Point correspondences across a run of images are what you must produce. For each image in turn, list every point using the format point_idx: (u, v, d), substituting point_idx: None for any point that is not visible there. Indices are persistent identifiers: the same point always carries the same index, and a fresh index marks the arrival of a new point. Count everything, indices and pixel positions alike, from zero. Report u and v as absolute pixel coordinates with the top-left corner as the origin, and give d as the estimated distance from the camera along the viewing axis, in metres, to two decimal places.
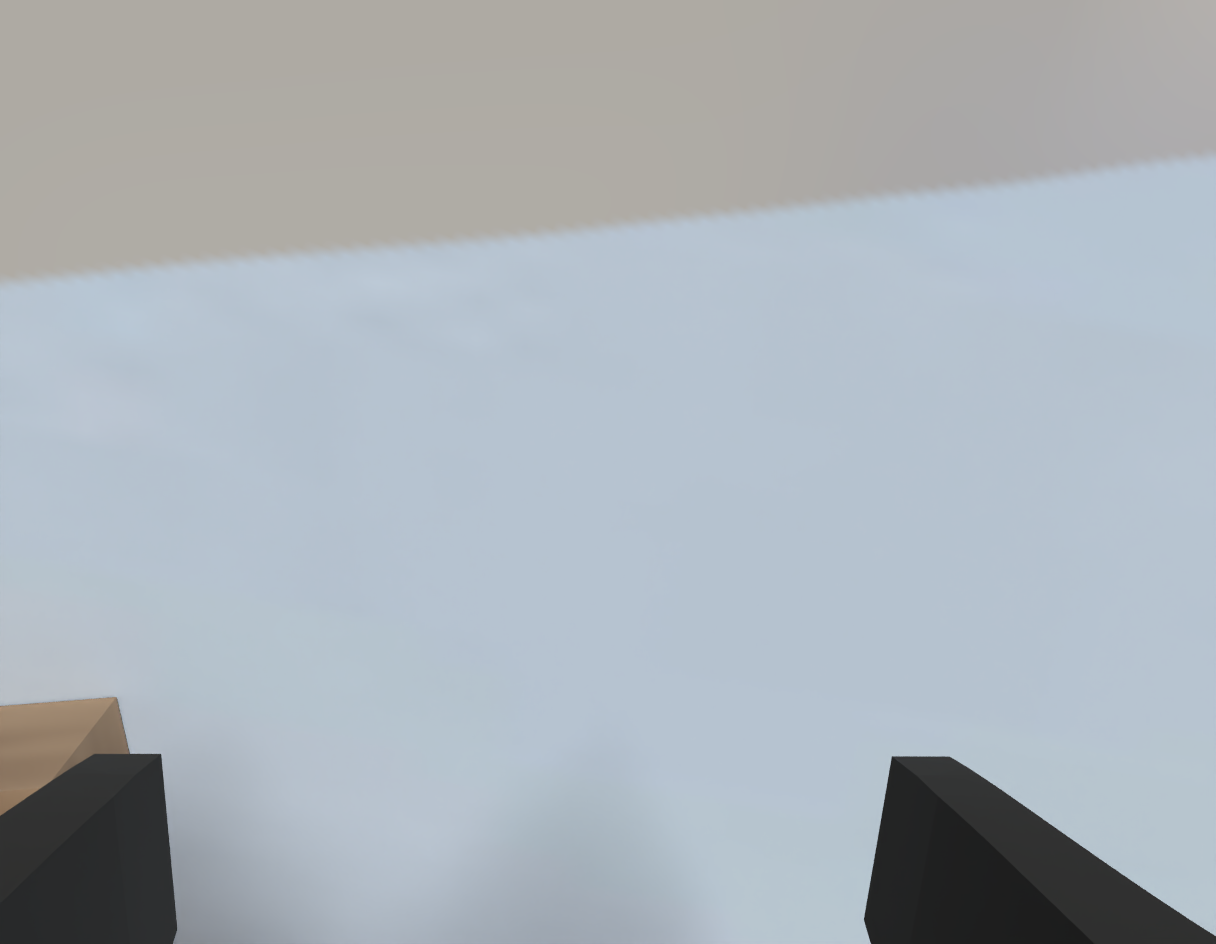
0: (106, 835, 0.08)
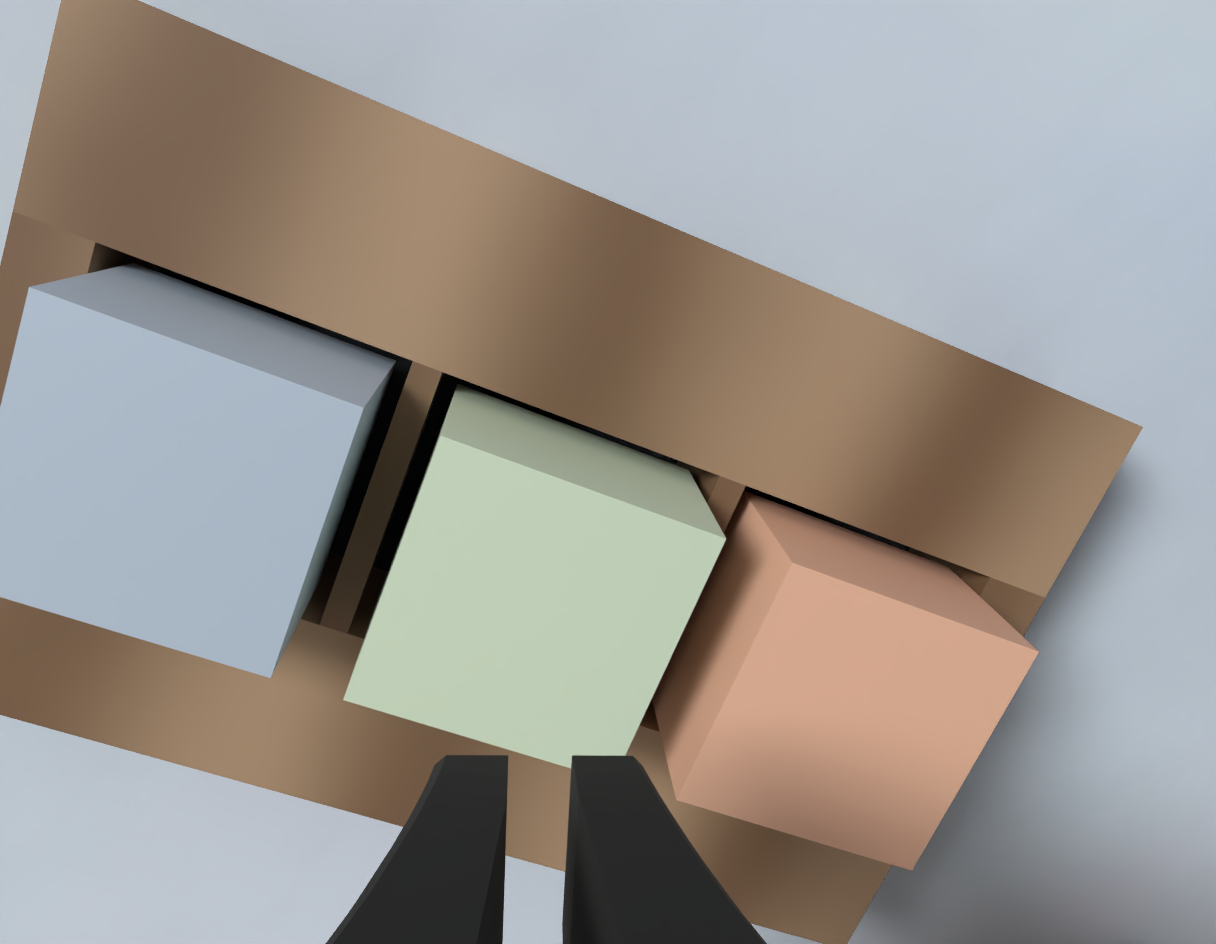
0: (505, 833, 0.08)
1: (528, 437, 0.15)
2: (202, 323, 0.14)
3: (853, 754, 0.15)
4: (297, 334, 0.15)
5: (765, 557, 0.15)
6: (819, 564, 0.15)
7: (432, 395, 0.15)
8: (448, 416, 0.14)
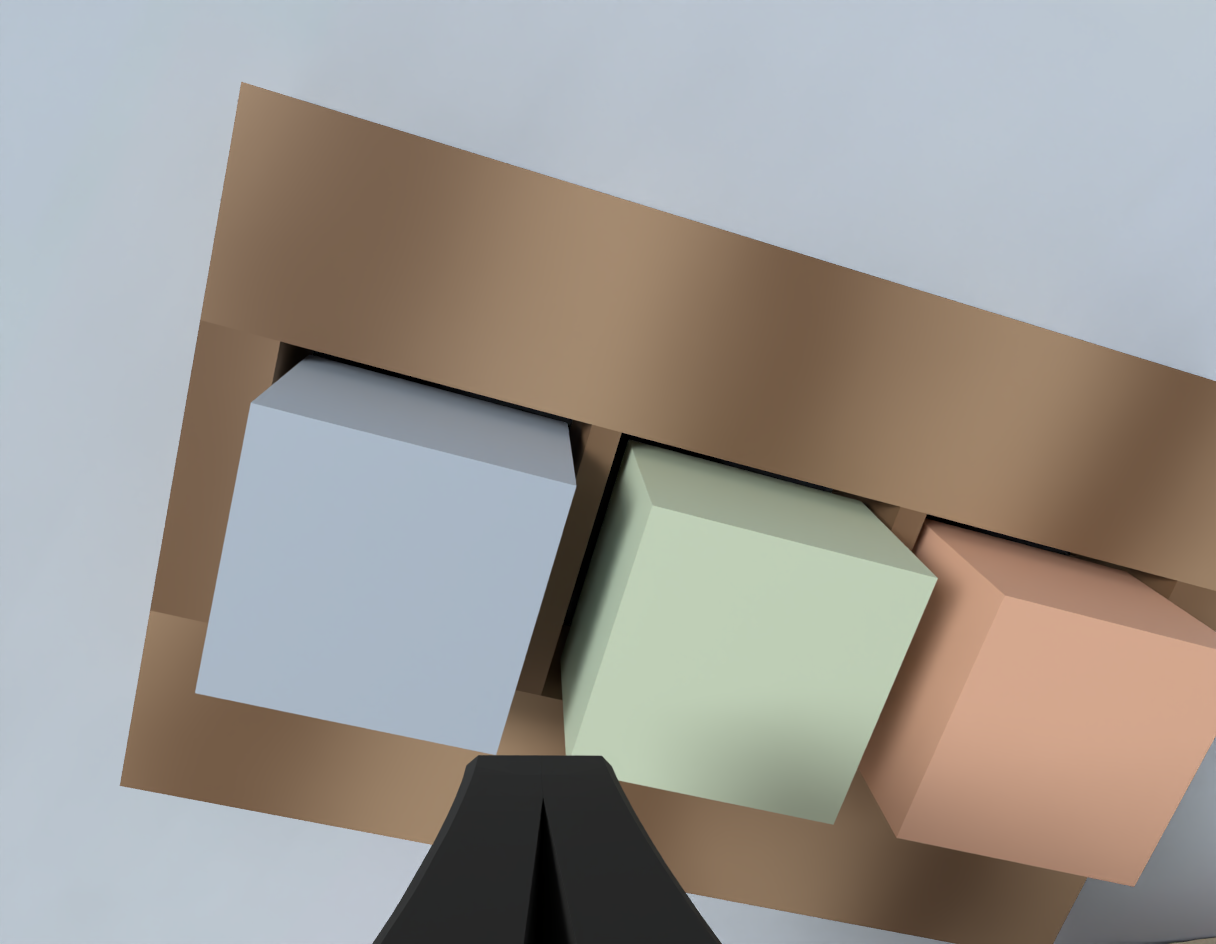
0: (540, 832, 0.08)
1: (718, 491, 0.15)
2: (400, 414, 0.14)
3: (1072, 778, 0.15)
4: (477, 409, 0.15)
5: (965, 588, 0.15)
6: (1026, 592, 0.15)
7: (613, 456, 0.15)
8: (644, 480, 0.14)
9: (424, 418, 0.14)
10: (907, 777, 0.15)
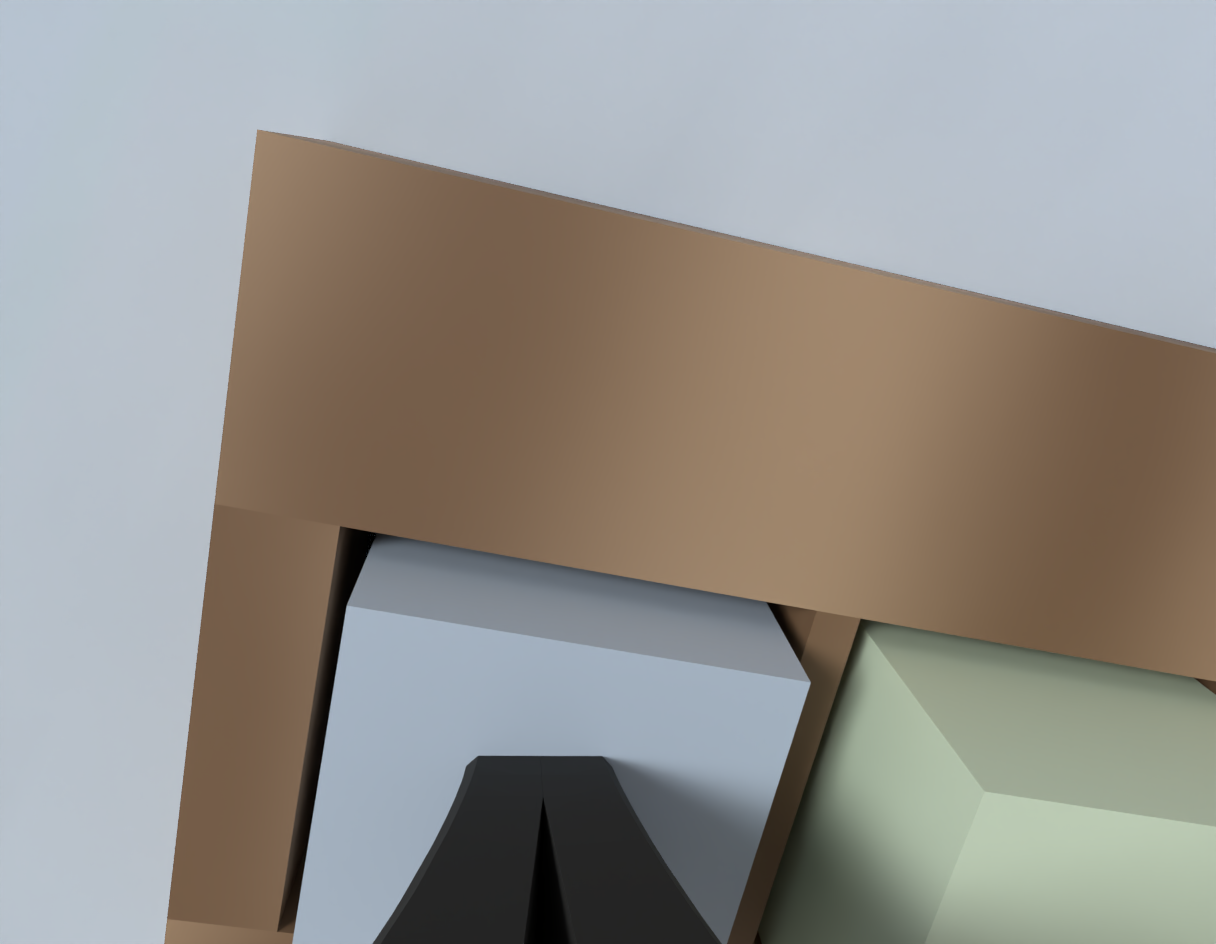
0: (540, 833, 0.08)
1: (1029, 711, 0.10)
2: (542, 581, 0.10)
3: None
4: None
5: None
6: None
7: (848, 654, 0.10)
8: (932, 718, 0.09)
9: (573, 582, 0.10)
10: None
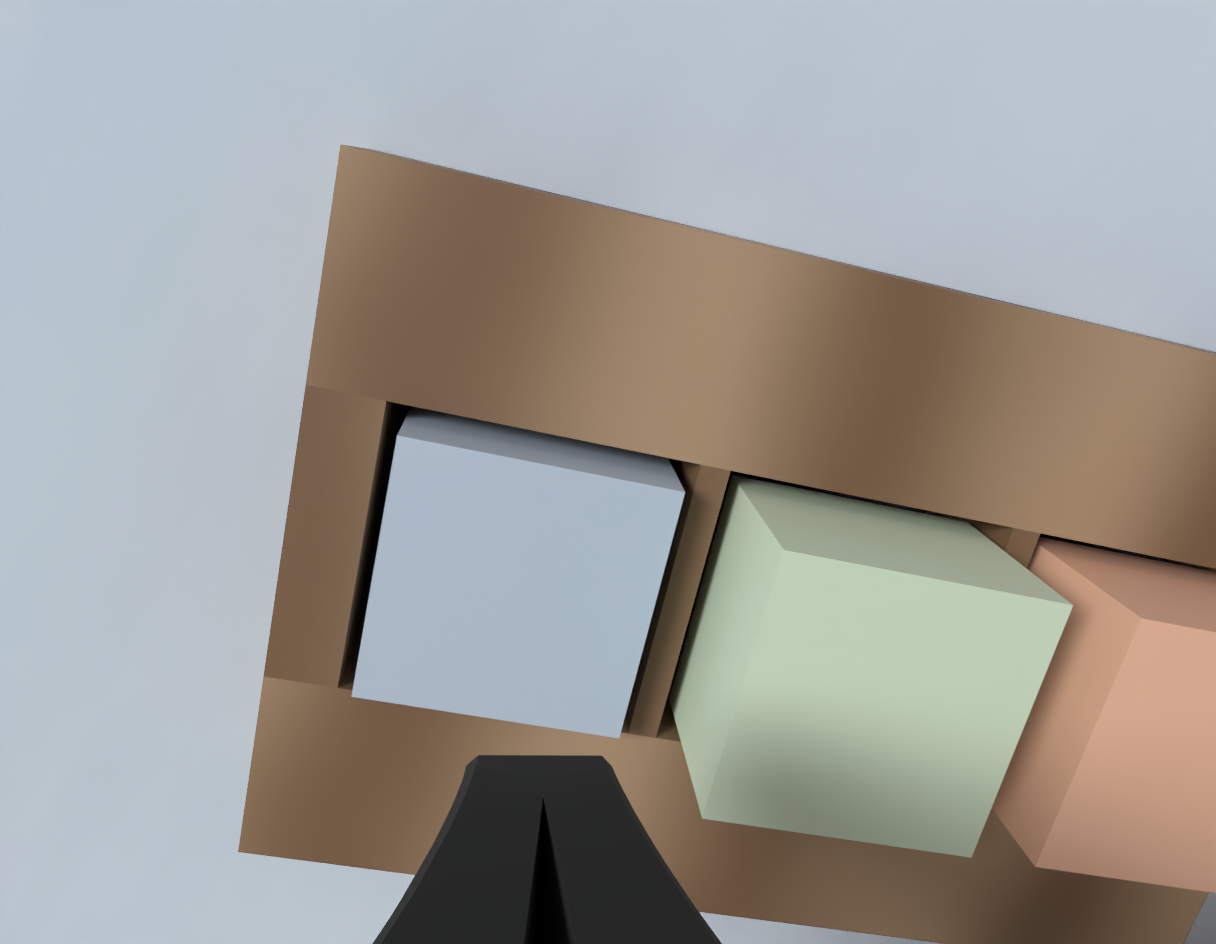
0: (541, 833, 0.08)
1: (836, 526, 0.15)
2: (518, 436, 0.15)
3: (1212, 796, 0.15)
4: None
5: (1091, 609, 0.15)
6: (1158, 612, 0.14)
7: (723, 495, 0.15)
8: (765, 521, 0.14)
9: (538, 439, 0.15)
10: (1042, 804, 0.15)
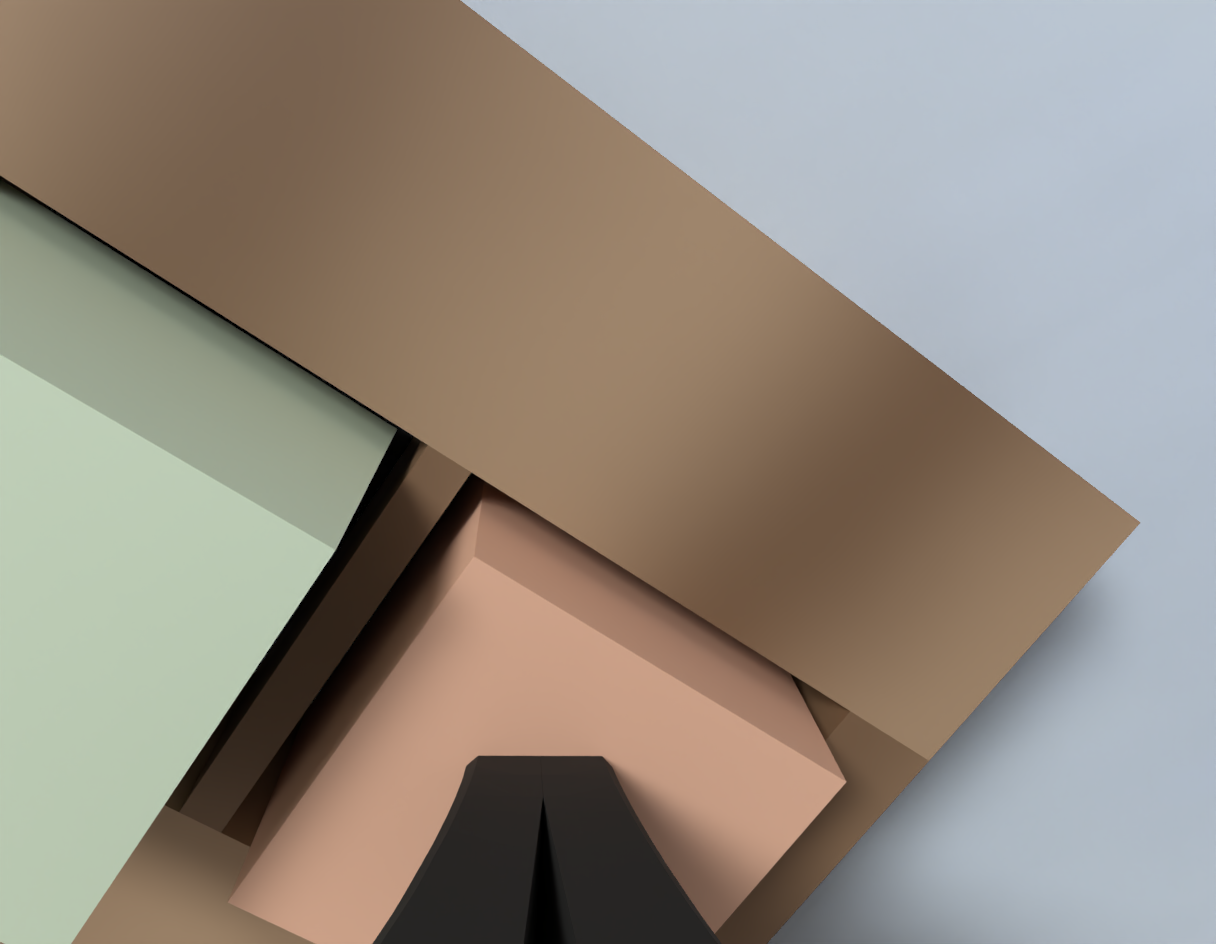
0: (540, 833, 0.08)
1: (35, 277, 0.08)
2: None
3: None
4: None
5: (459, 544, 0.09)
6: (531, 569, 0.09)
7: None
8: None
9: None
10: (283, 813, 0.09)
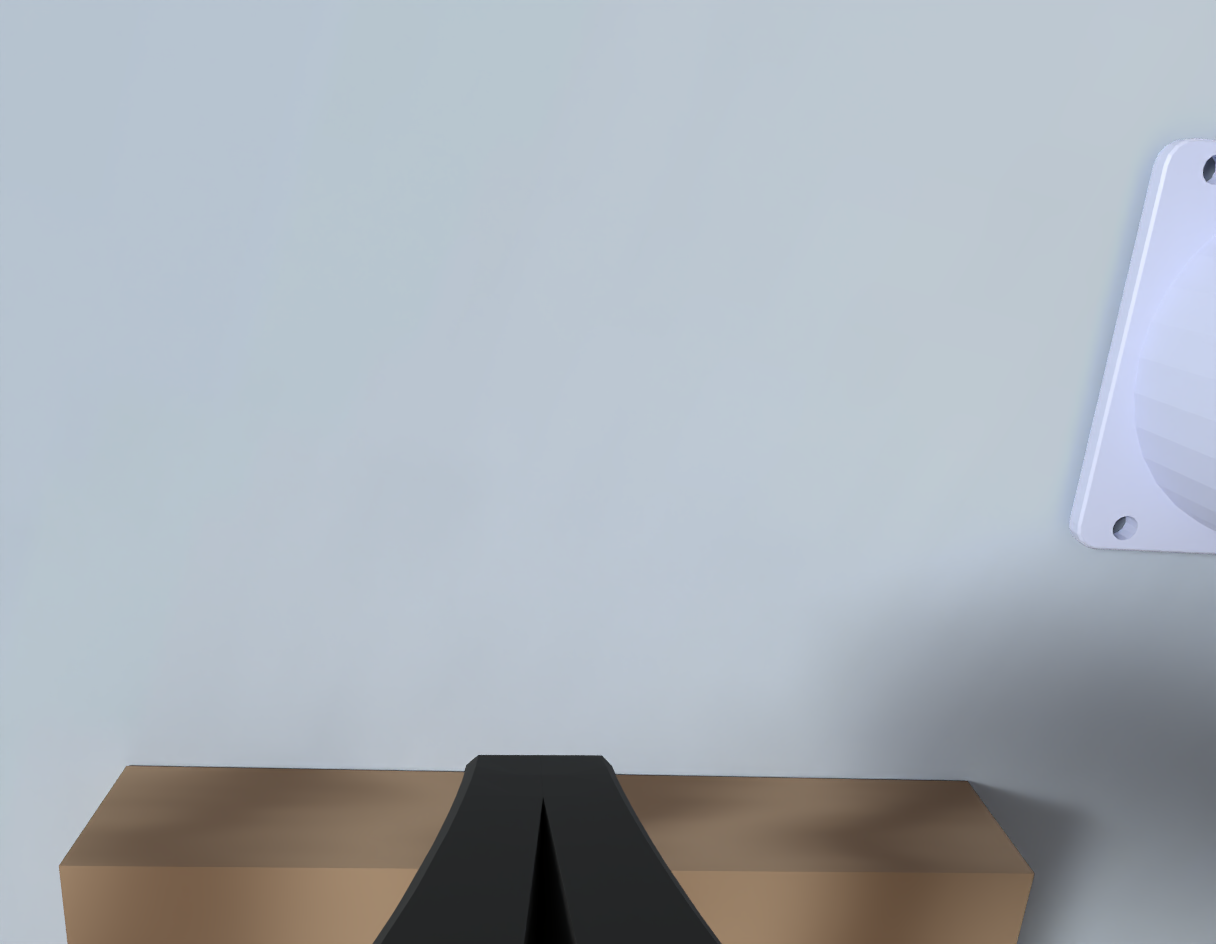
0: (540, 832, 0.08)
1: None
2: None
3: None
4: None
5: None
6: None
7: None
8: None
9: None
10: None
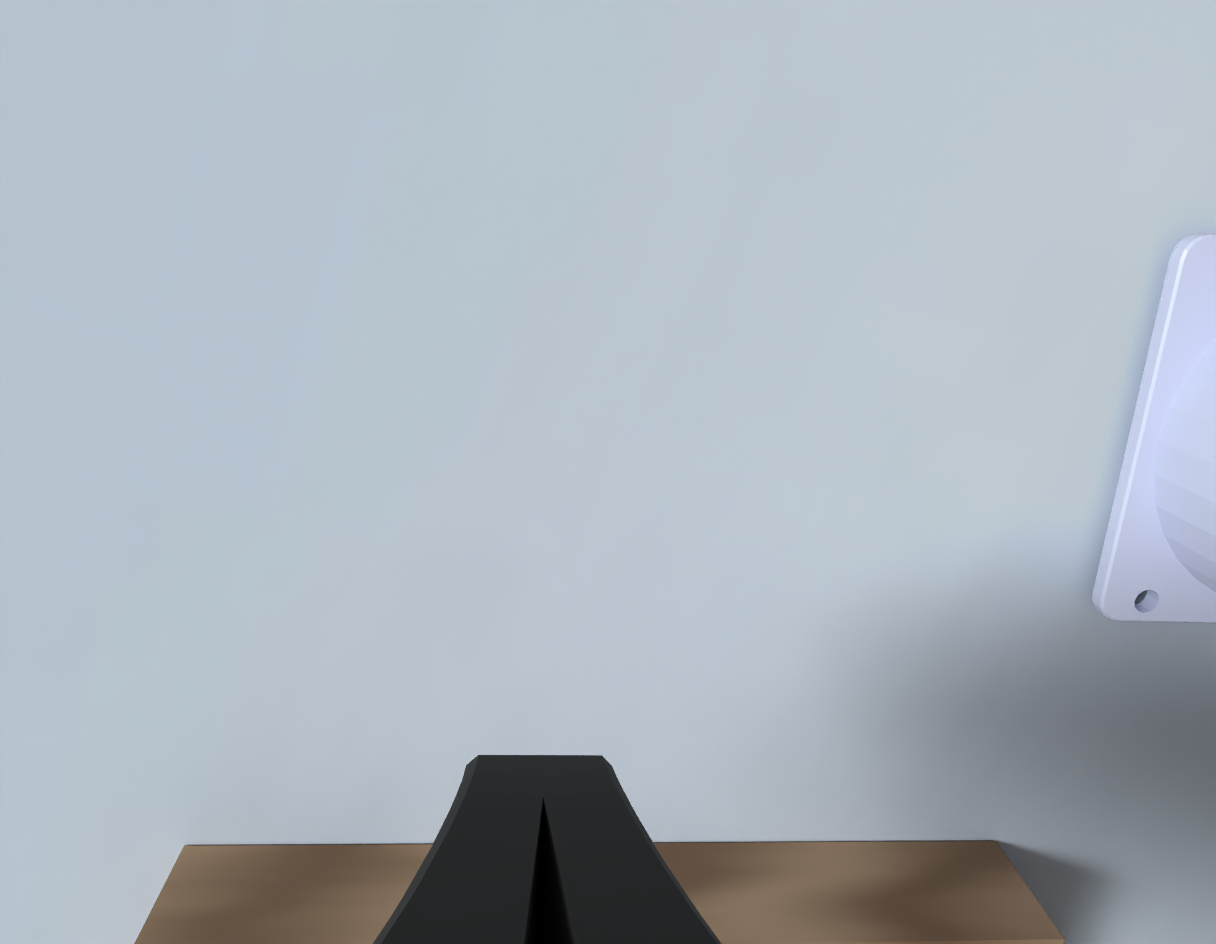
0: (540, 833, 0.08)
1: None
2: None
3: None
4: None
5: None
6: None
7: None
8: None
9: None
10: None
